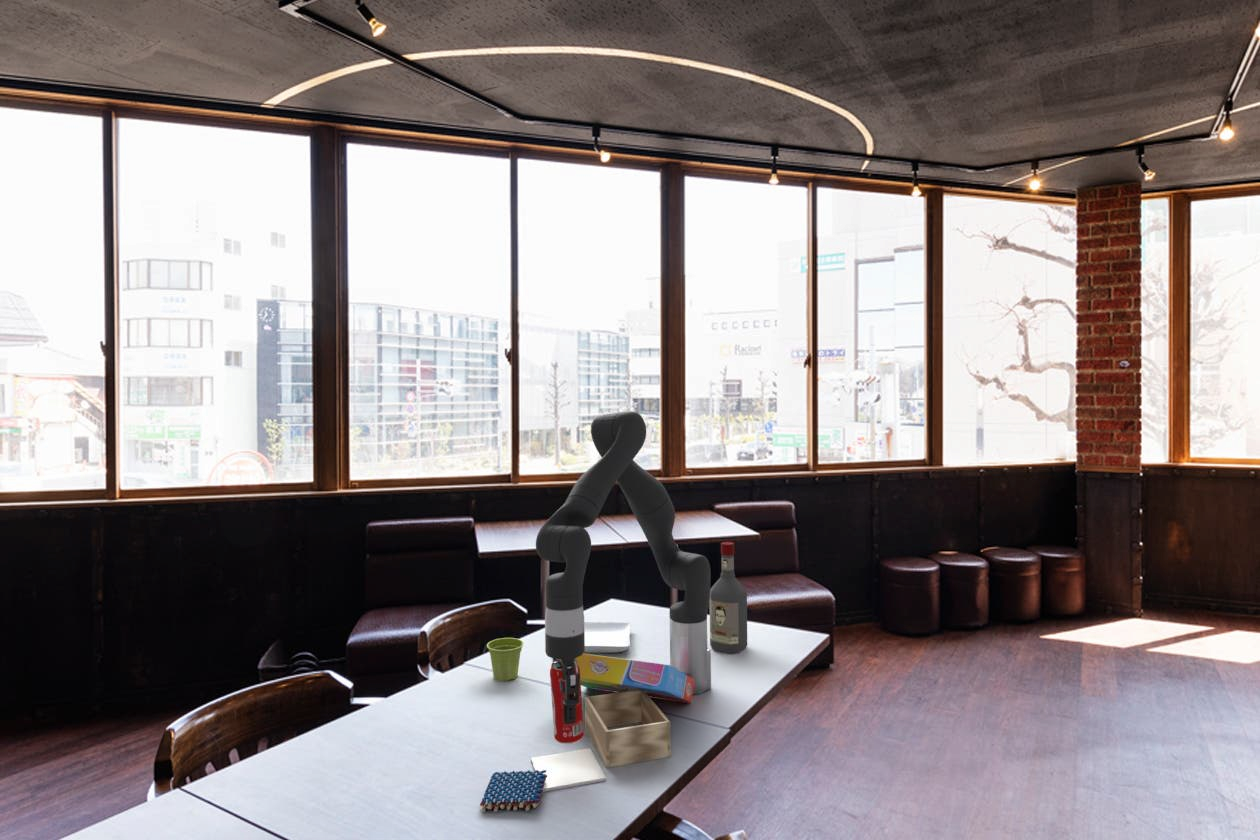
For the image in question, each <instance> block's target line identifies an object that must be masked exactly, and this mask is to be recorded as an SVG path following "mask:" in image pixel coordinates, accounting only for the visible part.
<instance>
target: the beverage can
mask: <svg viewBox="0 0 1260 840" xmlns="http://www.w3.org/2000/svg"><path fill="white" fill-rule="evenodd" d="M554 662H557V660H556V661H554ZM554 662H553V661H552V662H551V665H550V669H549V677H550V679H549V681H550V692H551V706H552V707H551V708H552V709H551V710H552V725H553V736H554V739H555V740H556V742H557V743H558V744H562V745H573V744H577V743H578V742H580V741H581V740H583V738H584V735H585V725H584V713H583V711H584V710H583V700H582V699H583V697H582V685H581V680H580V682H579V704H576V722H575V723H572V724H565V723H564V719H563V697H562V692H560V691H559V678H560V679H561V680H562V684H563V686H564V687H565V681H564V680H563V674H562V669H557V668H556V667H559V666H560V665H559V664H558V663H557V664H554ZM574 662H575V664H576V665H577V668H578V673H579V675H580V668H579V666H578V663H577V661H576V660H574ZM576 665H575V674H577V672H576ZM557 671H558V674H557ZM569 697H573V694H569Z"/></svg>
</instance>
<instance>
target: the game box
mask: <svg viewBox="0 0 1260 840" xmlns="http://www.w3.org/2000/svg"><path fill="white" fill-rule="evenodd" d="M574 660H576V661H577V663H578V666H579V668H580V680H581V687H584V688H587V689H594V690H601V691H607V692H612V693H618V692H625V691H632V690H639V689H643V690H644V691H645V692H646V693H647V695H648V696H649V697H650V698H653V699H654V698H655V699H660V700H667V701H674V702H679V703H680V702H681V703H688V704H691V703H692V701H693V695H694V694H693V687H694V679H692V678H690V677H689V676H687V675H685V674H684V673H682V672H680V671H678V670H677V669H675V668H673V667H672V666H670V664H664V663H659V662H658V663H657V662H649V661H648V662H647V661H642V660H636V659H635V660H633V659H629V658H628V659H626V658H619V657H613V656H605V655H599V654H598V655H597V654H592V653H583V654H582V655H581V656H579V657H577V658H575V659H574Z"/></svg>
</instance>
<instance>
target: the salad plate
mask: <svg viewBox="0 0 1260 840" xmlns="http://www.w3.org/2000/svg"><path fill="white" fill-rule="evenodd" d="M631 627H632V624H631V623H630V622H621V621H620V622H612V621H611V622H610V621H609V622H608V621H601V622H599V621H588V622H587V621H584V634H585V651H584V654H604V653H605V654H606V653H607V654H609V653H611V654H612V653H613V654H614V653H621V652H624V651H627V650H628V649H629V648H630V646H631Z"/></svg>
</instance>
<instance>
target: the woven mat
mask: <svg viewBox="0 0 1260 840" xmlns="http://www.w3.org/2000/svg"><path fill="white" fill-rule="evenodd" d="M542 773H543V774H542ZM544 773H546V770H543V771H541V770H540V771H538V770H536V771H535V770H533V771H531V770H530V769H528V770H527V771H526V770H524V771H523V770H519V771H515V770H512V771H509V772H507V770H505V771H495V772H494V773H492V775H491V777H490V779H489V782H488V784H487V786H486V789H485V791H484V793H483V795H484V796H483V797H482V798H481V802H480V803H479V806H480V807H481V809H480V812H481V813H482V814H483V813H485V812H486V810H492V809H493V808H494V809H493V812H495V813H497V812H498V810H499V808H500V809H501V810H504V809H505V808H506V810H507V811H511V807H512V806H513V811H517V810H518V808H520V809H523V808H524V807H525V811H526V812H527V811H530V808H531V805H532V807H533V808H534V809H536V808H537V807H538V805H539V804H540V803H541V798H542V793H543V789H542V788H543V786H544V784H545V781H546V777H547V775H546V774H544Z"/></svg>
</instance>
